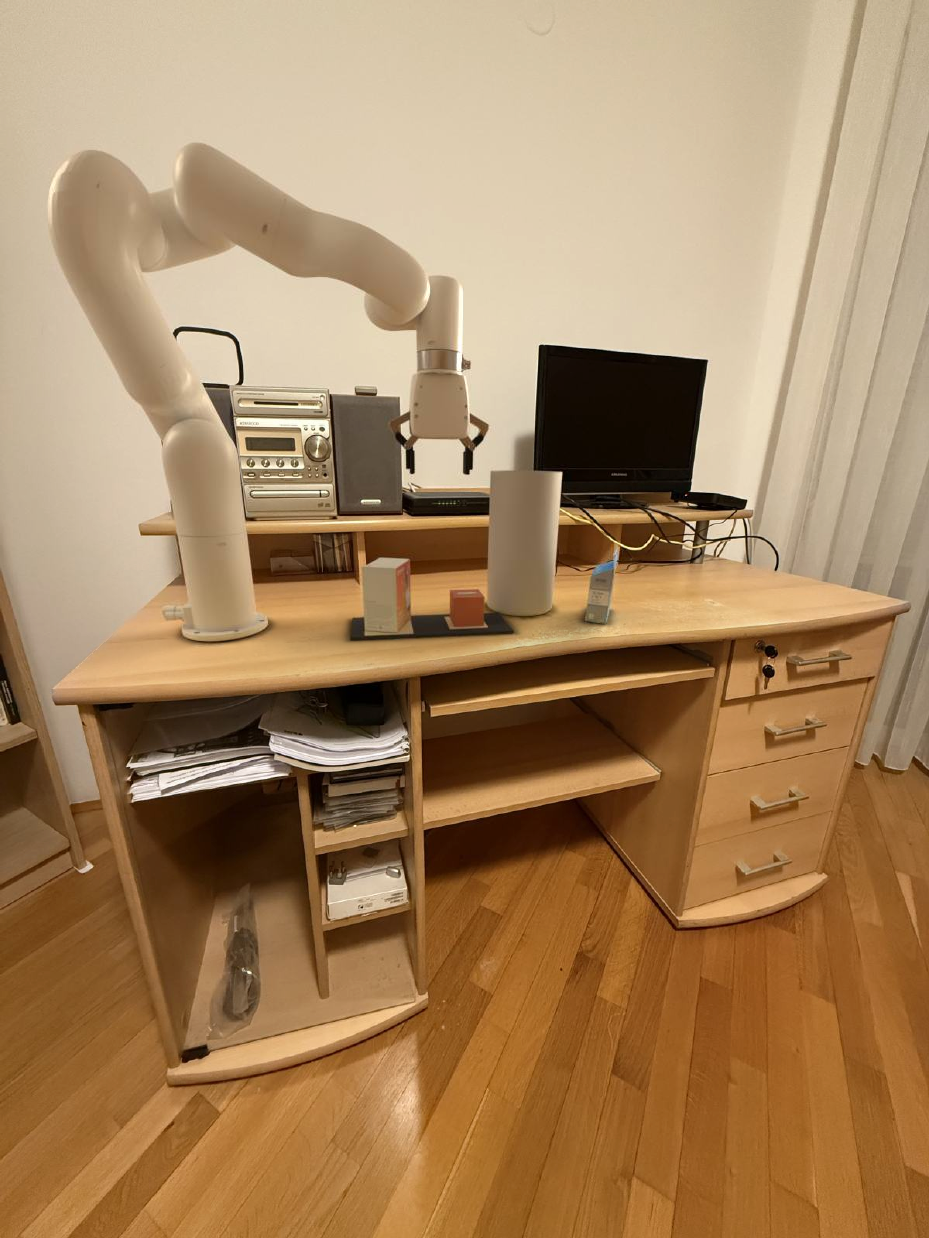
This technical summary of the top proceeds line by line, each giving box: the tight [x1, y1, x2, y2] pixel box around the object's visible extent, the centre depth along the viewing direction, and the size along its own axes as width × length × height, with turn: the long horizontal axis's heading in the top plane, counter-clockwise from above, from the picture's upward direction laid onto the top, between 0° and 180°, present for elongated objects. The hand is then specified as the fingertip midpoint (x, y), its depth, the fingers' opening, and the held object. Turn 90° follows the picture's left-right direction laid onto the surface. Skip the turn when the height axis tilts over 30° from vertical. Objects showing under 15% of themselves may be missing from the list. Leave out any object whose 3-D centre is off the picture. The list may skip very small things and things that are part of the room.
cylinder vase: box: [486, 469, 563, 617], centre depth 90 cm, size 12×12×25 cm
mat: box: [349, 611, 514, 641], centre depth 82 cm, size 26×10×1 cm, turn 100°
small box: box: [361, 557, 412, 633], centre depth 79 cm, size 8×6×10 cm
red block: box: [449, 588, 486, 627], centre depth 82 cm, size 5×5×5 cm
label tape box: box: [584, 546, 619, 625], centre depth 87 cm, size 9×4×12 cm, turn 161°
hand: (439, 474), depth 86 cm, fingers open, 9 cm apart
